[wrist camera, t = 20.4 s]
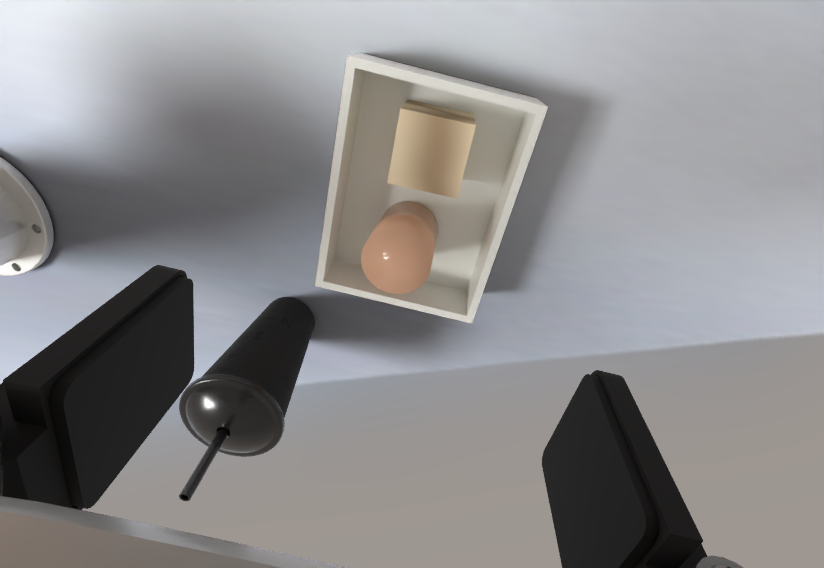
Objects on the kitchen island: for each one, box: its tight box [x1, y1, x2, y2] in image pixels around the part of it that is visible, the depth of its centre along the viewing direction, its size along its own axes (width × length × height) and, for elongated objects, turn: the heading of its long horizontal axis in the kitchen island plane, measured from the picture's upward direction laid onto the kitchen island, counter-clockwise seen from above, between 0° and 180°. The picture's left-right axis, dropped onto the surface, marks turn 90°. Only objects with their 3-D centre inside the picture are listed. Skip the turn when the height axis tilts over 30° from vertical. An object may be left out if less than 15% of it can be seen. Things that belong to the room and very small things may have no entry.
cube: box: [387, 99, 476, 199], centre depth 33 cm, size 5×5×5 cm
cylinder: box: [361, 201, 439, 294], centre depth 35 cm, size 5×5×7 cm
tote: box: [315, 53, 548, 324], centre depth 35 cm, size 13×17×5 cm
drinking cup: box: [179, 298, 315, 501], centre depth 36 cm, size 8×8×20 cm
